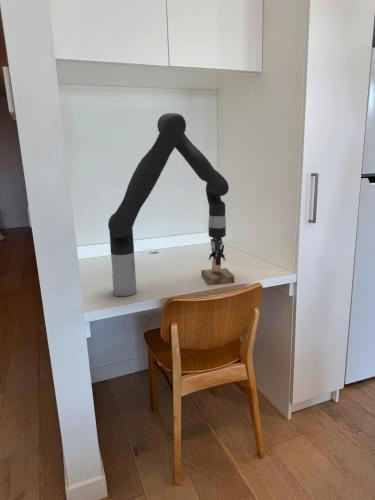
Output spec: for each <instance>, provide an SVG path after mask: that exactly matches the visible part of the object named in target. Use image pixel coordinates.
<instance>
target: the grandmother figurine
mask: <svg viewBox="0 0 375 500" xmlns="http://www.w3.org/2000/svg"><path fill="white" fill-rule="evenodd" d="M213 248H214V246H213ZM216 250H217V249H216ZM219 254H220V253H219ZM207 259H208V261H211V260H212V262H211V269H212V270H211V272H215V271H216V272H221V271H220V269H222V265H216V256H215V251H214V252H212V251H211V253H210V254H209V257H208V258H207ZM221 259H223V261H227V260H226V259H227V258H226V256H225V254H223V256H222V257H221Z"/></svg>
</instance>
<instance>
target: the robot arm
mask: <svg viewBox="0 0 375 500" xmlns="http://www.w3.org/2000/svg"><path fill="white" fill-rule="evenodd" d="M156 127H157V131H158V132H159V133H158V136H157V137H156V140H155V142H154V144H153V145H152V147H151V148H150V149H149V150H148V152H146V154H144V156H143V157H142V159H140V161H139V163H138V164H137V166H136V168H135V170H134V172H133V174H132V176H131V177H130V180H129V182H128V185H127V189H126V190H125V194H124V197H123V199H122V201H121V203H120V205H119V206H118V208H117V209H116V211H115V212H114V213H112V214H111V215H110V217H109V220H108V223H107V226H108V227H107V228H108V231H109V245H110V258H111V259H110V260H111V261H110V262H111V269H112V270H111V272H112V273H111V275H112V287H113V289H112V290H113V296H114V297H117V296H118V297H128V296H133V295H135V294H136V293H137V292H138V291H137V289H138V288H137V276H136V262H135V246H134V244H135V243H134V231H133V227H134V224H135V223H136V219H137V218H138V214H139V212H140V210H141V209H142V207H143V205H144V204H145V202H146V201H147V199H148V198H149V196H150V195H151V193H152V191H153V190H154V187H155V186H156V184H157V182H159V181H158V180H160V179H159V178H161V177H160V176H161V174H162V172H163V170H164V168H165V167H166V165H167V163H168V160H169V158H170V156H171V154H172V153H173V151H174V150H175V149H176V151H178V153H180V155H181V156H182V157H183V158H184V160H185V161H186V162H187V164H188V165H189V166H190V168H191V169H192V170H193V172H194V173H195V174H196V176H198V178H199V179H200V181H203V182H206V185H205V192H206V193H205V195H206V199H207V203H208V206H209V207H208V228H207V229H208V237H210V245H211V253H212V252H214V251H215V256H216V265H221V264H222V256H223V255H224V250H225V245H224V243H223V242H224V241H223V240H222V239H223V238H225V237H226V236H227V232H226V231H227V219H226V203H225V202H224V201H223V200H222V198H221V197H223V196H226V194H227V193H229V189H230V187H229V183H228V181H227V179H226V178H225V177H224V176H223V175H222V174H221V173H220V172H219V171H217V170H216V169H215V168H214V166H213V165H212V163H211V162H210V160H209V159H208V158H207V157H206V156H205V155H204V153H203V152H202V151H200V149H199V148H198V147H196V146H195V145H194V144H193V143H192V141H191V140H190V139H189V138H188V137H187V135H186V134H185V132H186V129H187V122H186V119H185V118H184V116H183V115H182V114H180V113H176V112H169V113H164V114H162V115H161V116H160V117H159V118H158V120H157V125H156ZM213 246H214V248H213ZM216 249H217V250H216ZM219 253H220V254H219ZM221 266H222V265H221Z"/></svg>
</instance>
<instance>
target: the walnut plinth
mask: <svg viewBox="0 0 375 500" xmlns="http://www.w3.org/2000/svg"><path fill="white" fill-rule="evenodd" d="M211 270H212V268H210V269H201V270H200V273H201V278H202V279H203V281H204V282H205V283H206V285H207V286H213V285H223V284H235V275H234V274H233V273H232V272H231V271H230V270H229V269H228V268H227V267H225V268H222V267H221V268H220V271H221V272H216V271H215V272H211Z"/></svg>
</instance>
